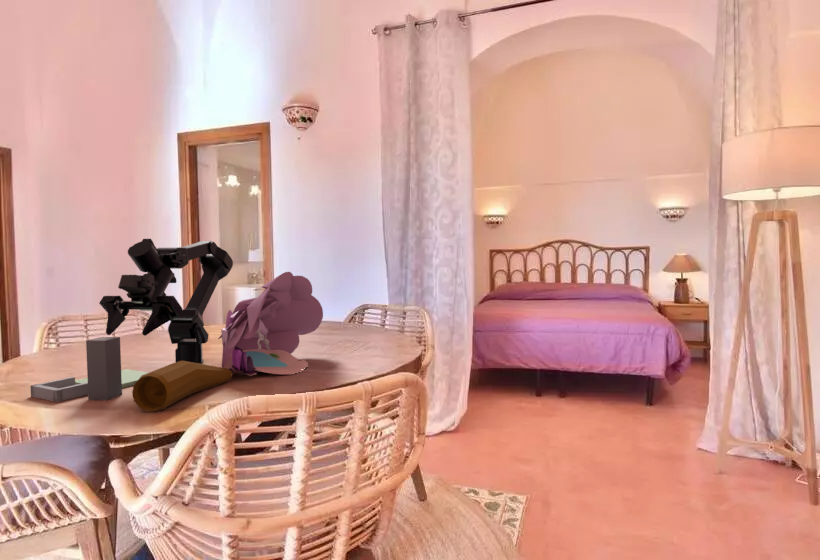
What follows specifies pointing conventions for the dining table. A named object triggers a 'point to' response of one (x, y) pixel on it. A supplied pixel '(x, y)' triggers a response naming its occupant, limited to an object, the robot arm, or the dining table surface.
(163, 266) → the robot arm
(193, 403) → the dining table surface
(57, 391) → the two-tone flat tray
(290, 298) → the flower arrangement
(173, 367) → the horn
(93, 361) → the chute block
